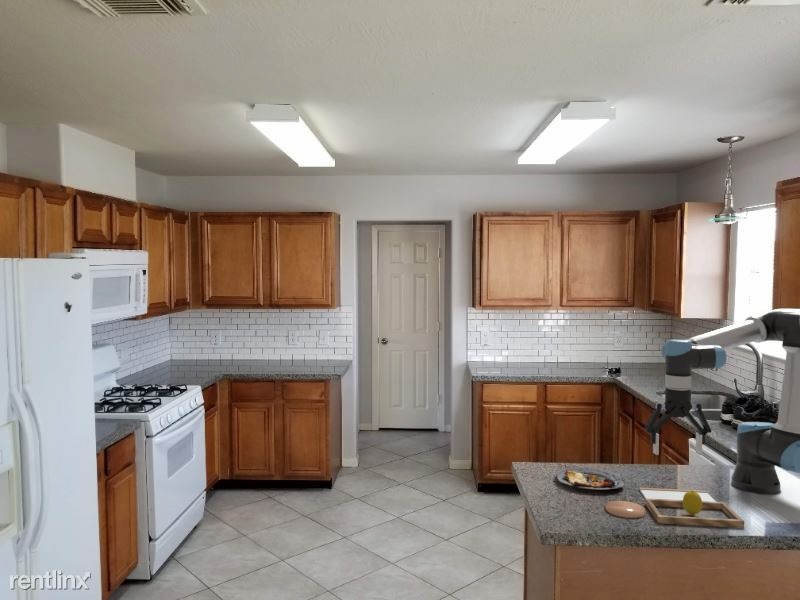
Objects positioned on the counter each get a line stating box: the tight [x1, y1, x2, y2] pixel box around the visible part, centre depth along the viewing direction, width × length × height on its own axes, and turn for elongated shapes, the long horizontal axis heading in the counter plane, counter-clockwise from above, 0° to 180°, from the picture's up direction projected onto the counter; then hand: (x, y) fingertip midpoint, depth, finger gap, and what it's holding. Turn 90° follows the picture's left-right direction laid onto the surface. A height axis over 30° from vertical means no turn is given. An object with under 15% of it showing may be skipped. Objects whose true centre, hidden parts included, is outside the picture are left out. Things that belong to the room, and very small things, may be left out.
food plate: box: [556, 466, 626, 491], centre depth 216 cm, size 25×23×4 cm
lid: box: [638, 487, 717, 502], centre depth 199 cm, size 22×13×1 cm, turn 81°
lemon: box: [683, 489, 702, 517], centre depth 185 cm, size 6×6×8 cm
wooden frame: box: [644, 498, 745, 529], centre depth 185 cm, size 24×16×2 cm, turn 81°
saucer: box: [605, 500, 646, 519], centre depth 189 cm, size 12×12×1 cm
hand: (677, 453), depth 188 cm, fingers open, 13 cm apart
